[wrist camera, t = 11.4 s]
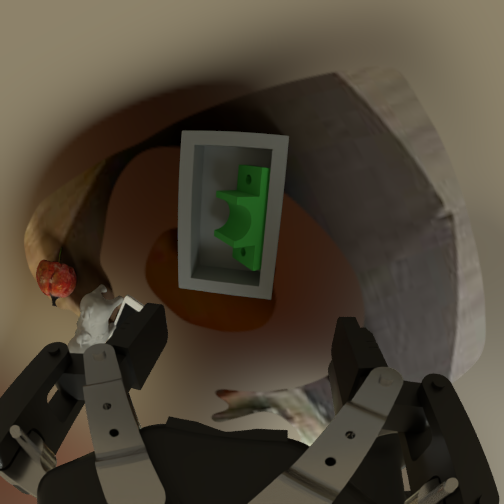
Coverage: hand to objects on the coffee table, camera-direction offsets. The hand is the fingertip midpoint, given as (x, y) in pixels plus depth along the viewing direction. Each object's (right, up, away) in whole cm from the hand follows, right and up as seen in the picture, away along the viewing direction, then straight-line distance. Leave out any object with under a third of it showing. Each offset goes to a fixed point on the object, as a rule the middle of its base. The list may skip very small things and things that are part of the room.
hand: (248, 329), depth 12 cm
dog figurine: (-24, -7, +29) cm, 39 cm away
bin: (-2, +9, +21) cm, 23 cm away
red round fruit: (-32, +1, +27) cm, 42 cm away
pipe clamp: (-2, +8, +19) cm, 21 cm away
